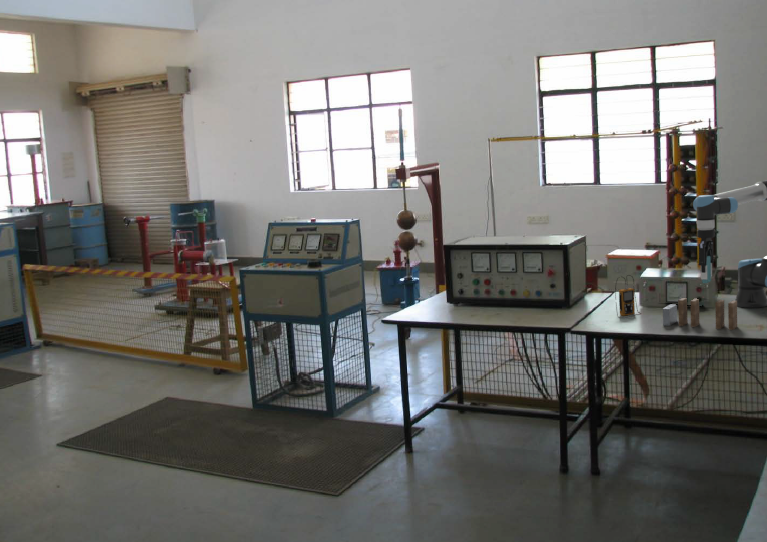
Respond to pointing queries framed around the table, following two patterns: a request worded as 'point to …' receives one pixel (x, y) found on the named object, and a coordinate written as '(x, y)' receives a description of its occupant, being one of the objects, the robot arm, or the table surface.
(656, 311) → the table surface
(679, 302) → the tile
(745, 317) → the table surface
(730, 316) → the tile
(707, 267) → the tile
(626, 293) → the multimeter
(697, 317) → the tile
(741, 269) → the robot arm
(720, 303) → the tile
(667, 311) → the bar
